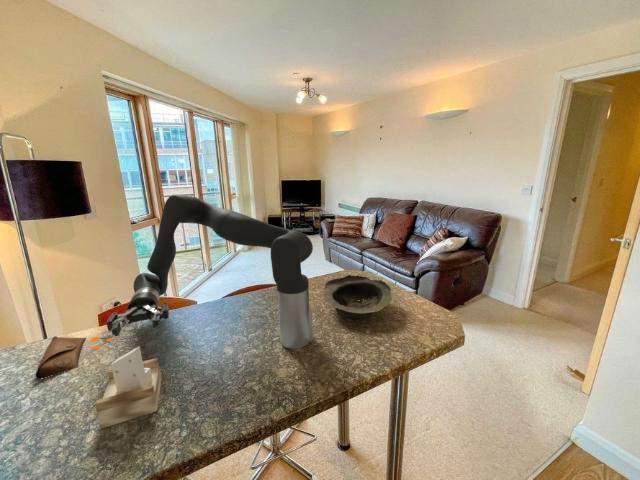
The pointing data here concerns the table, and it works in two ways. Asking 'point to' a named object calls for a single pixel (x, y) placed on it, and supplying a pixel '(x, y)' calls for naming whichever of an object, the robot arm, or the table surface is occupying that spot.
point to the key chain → (102, 340)
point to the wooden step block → (129, 399)
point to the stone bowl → (357, 296)
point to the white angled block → (131, 371)
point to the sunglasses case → (60, 356)
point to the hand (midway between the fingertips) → (135, 328)
